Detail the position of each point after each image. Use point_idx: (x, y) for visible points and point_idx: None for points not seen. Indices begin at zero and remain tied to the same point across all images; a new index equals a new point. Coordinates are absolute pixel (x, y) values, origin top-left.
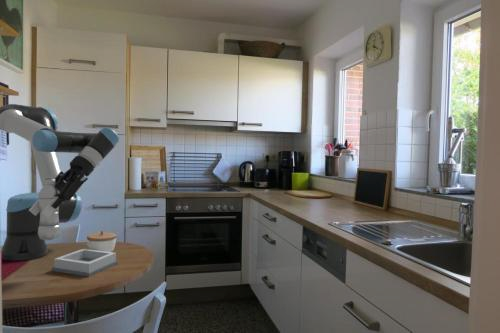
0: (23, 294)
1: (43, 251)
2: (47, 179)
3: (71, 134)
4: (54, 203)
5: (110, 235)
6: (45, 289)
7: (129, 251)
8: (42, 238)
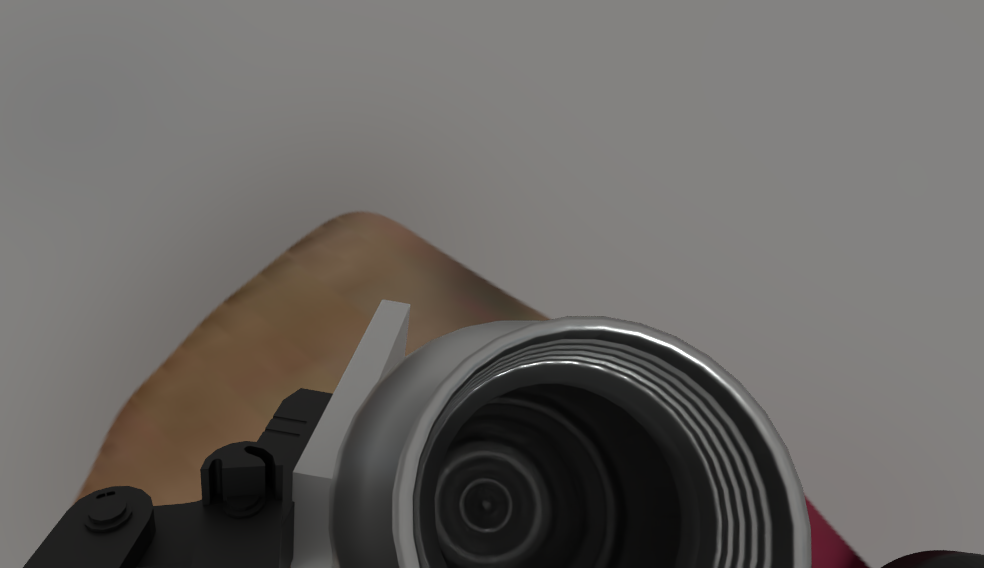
0: (350, 260)
1: None
2: (482, 349)
3: None
4: (298, 418)
5: None
6: (310, 342)
7: None
8: (474, 426)
